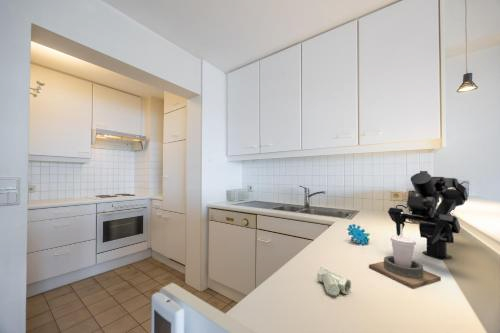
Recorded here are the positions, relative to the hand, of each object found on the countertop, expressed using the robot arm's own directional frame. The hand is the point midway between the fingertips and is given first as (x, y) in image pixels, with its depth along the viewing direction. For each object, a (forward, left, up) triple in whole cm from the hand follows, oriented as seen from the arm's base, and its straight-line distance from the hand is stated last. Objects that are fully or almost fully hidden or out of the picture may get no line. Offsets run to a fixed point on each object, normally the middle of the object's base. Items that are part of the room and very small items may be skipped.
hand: (413, 238), depth 68 cm
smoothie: (+8, +1, -9) cm, 12 cm away
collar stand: (+8, +1, -9) cm, 12 cm away
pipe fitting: (+35, 0, -10) cm, 37 cm away
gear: (-5, -25, -10) cm, 27 cm away
